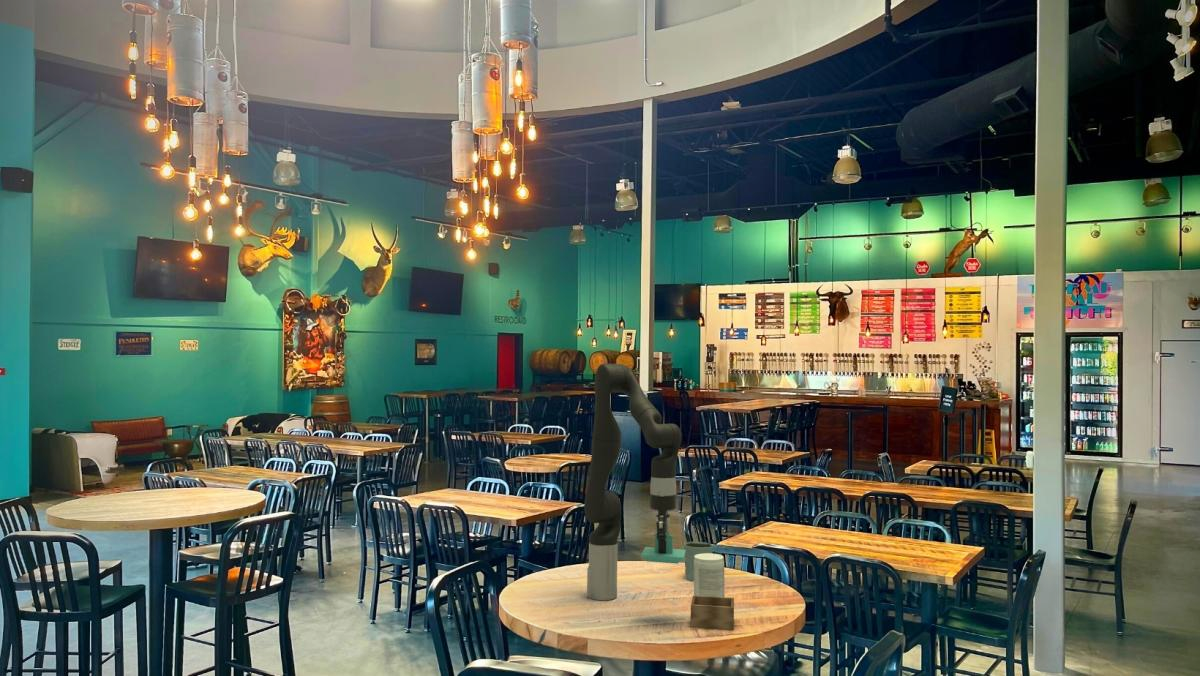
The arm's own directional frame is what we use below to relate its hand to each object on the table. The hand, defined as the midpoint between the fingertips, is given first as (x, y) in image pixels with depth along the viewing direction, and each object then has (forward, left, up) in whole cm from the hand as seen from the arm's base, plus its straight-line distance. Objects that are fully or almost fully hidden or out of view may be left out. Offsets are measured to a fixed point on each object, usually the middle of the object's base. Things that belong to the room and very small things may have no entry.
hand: (662, 551), depth 240 cm
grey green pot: (+7, +52, -21) cm, 57 cm away
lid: (0, 0, -2) cm, 2 cm away
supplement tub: (+12, +23, -21) cm, 33 cm away
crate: (+14, 0, -21) cm, 25 cm away
